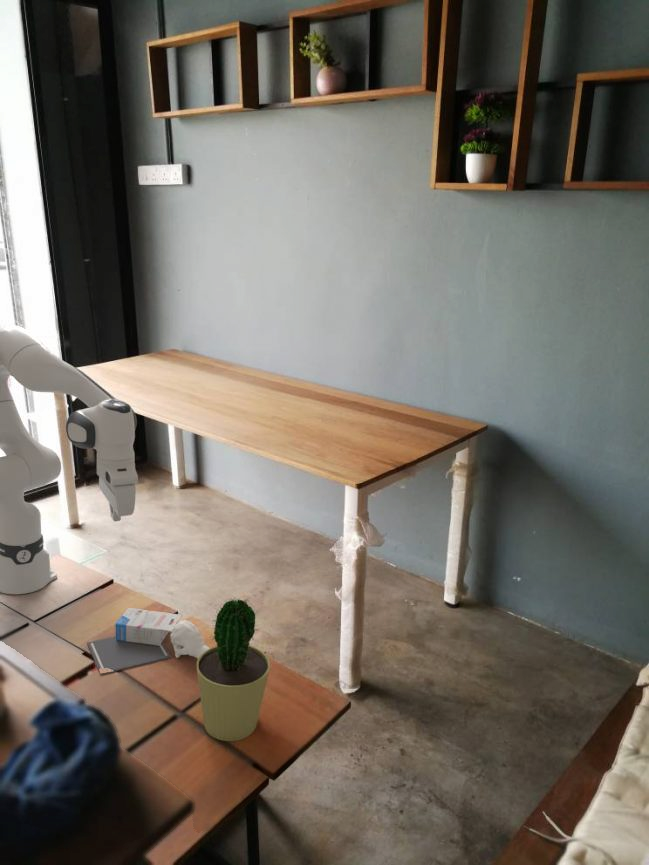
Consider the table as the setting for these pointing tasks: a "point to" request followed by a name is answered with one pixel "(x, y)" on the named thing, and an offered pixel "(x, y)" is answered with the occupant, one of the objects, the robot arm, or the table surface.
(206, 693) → the potted cactus
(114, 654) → the mat
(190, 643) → the white irregular lumpy piece
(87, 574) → the table surface
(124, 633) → the ink box
